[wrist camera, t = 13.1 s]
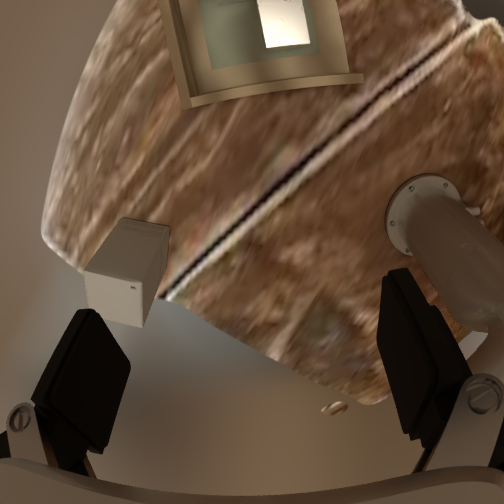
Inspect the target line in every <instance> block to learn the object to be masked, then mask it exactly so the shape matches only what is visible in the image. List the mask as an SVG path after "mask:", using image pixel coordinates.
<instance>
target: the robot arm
mask: <svg viewBox="0 0 504 504" xmlns="http://www.w3.org/2000/svg"><path fill="white" fill-rule="evenodd" d="M409 187H410V188H409ZM479 214H480V208H479V206H477V205H476V206H470V207H467V206H466V205H465V204H464V203H463V202H461V198H460V195H459V193H458V191H457V189H456V188H455V186H454V185H453V184H452V183H451V182H449V181H448V180H447V179H445V178H444V177H441V176H439V175H435V174H423V175H420V176H416V177H414V178H412V179H410V180H408V181H407V182H406V183H404V184H403V185H402V186H401V187H400V188H399V189H398V190H397V191H396V193H395V194H394V196H393V197H392V199H391V201H390V203H389V205H388V208H387V212H386V217H385V226H386V232H387V235H388V237H389V239H390V241H391V243H392V244H393V245H394V246H395V248H396V249H398V250H399V251H400V252H402V253H404V254H406V255H410V256H414V257H415V259H416V260H417V262H418V263H419V265H420V266H421V268H422V269H423V271H424V272H425V274H426V275H427V277H428V278H429V280H430V281H431V283H432V285H433V286H434V288H435V289H436V291H437V293H438V294H439V296H440V297H441V299H442V301H443V302H444V304H445V306H446V307H447V309H448V311H449V312H450V314H451V316H452V317H453V318H454V320H455V321H456V322H457V323H458V324H460V325H461V326H463V327H464V328H467V329H469V330H472V331H477V332H485V333H488V335H487V337H486V339H485V340H484V341H483V343H482V344H481V345H480V346H479V347H478V348H477V350H476V351H475V352H474V353H473V354H472V355H471V356H470V357H469V358H468V359H467V360H465V358H464V356H463V354H462V352H461V350H460V348H459V346H458V344H457V342H456V340H455V338H454V336H453V334H452V332H451V330H450V329H449V327H448V325H447V323H446V321H445V319H444V318H443V316H442V314H441V312H440V311H439V309H438V308H437V307H436V306H434V305H433V306H429V304H428V302H427V300H426V298H425V297H424V295H423V293H422V291H421V290H420V288H419V286H418V285H417V283H416V281H415V280H414V278H413V276H412V274H411V273H410V271H409V270H408V269H407V268H401V269H395V270H390V271H389V272H388V276H384V277H383V279H382V291H381V302H380V311H379V320H378V329H377V346H378V349H379V352H380V355H381V358H382V361H383V365H384V368H385V371H386V374H387V378H388V381H389V384H390V388H391V391H392V394H393V398H394V401H395V404H396V408H397V412H398V416H399V419H400V423H401V426H402V430H403V433H404V434H408V433H409V436H410V440H411V441H412V440H415V439H419V438H420V440H421V444H422V447H423V448H425V449H424V451H423V453H422V455H421V457H420V459H419V460H418V462H417V464H416V466H415V468H414V469H413V471H412V473H411V474H410V475H405V476H401V477H395V478H391V479H386V480H382V481H377V482H373V483H368V484H362V485H357V486H351V487H345V488H338V489H331V490H323V491H316V492H307V493H296V494H283V495H263V496H219V495H199V494H186V493H176V492H167V491H159V490H152V489H145V488H139V487H133V486H127V485H122V484H117V483H112V482H108V481H103V480H99V479H97V477H96V475H95V473H94V471H93V468H92V466H91V464H90V462H89V460H88V457H87V455H86V453H87V450H89V451H90V452H93V453H97V454H103V451H104V448H105V447H106V446H107V445H108V442H109V439H110V435H111V432H112V428H113V425H114V422H115V418H116V415H117V411H118V408H119V405H120V402H121V398H122V395H123V392H124V389H125V386H126V383H127V380H128V377H129V373H130V370H131V365H130V361H129V360H128V358H127V357H126V355H125V354H124V352H123V351H122V349H121V348H120V346H119V345H118V343H117V342H116V340H115V338H114V337H113V335H112V334H111V332H110V330H109V329H108V327H107V326H106V324H105V322H104V321H103V319H102V317H101V315H100V314H99V313H98V312H96V311H95V310H94V309H92V308H89V309H79V310H77V312H76V313H75V315H74V316H73V318H72V320H71V322H70V323H69V325H68V327H67V329H66V330H65V332H64V334H63V336H62V338H61V340H60V341H59V344H58V345H57V347H56V349H55V351H54V352H53V354H52V356H51V358H50V360H49V362H48V364H47V366H46V368H45V370H44V372H43V374H42V376H41V378H40V380H39V382H38V384H37V386H36V388H35V391H34V393H33V395H32V397H31V400H32V401H33V402H34V403H35V404H36V405H35V407H33V406H32V405H31V404H29V403H27V402H26V403H21V404H18V405H17V406H15V407H14V408H13V409H12V410H11V412H10V413H9V415H8V418H7V422H6V424H7V425H6V427H7V430H6V431H4V432H3V433H2V434H0V504H504V245H503V244H502V243H501V242H500V241H499V240H498V239H497V238H496V237H495V236H494V235H493V234H492V233H491V232H490V231H489V230H488V229H487V228H486V227H485V226H484V221H483V220H482V219H481V218H478V219H476V218H475V217H474V216H475V215H479Z"/></svg>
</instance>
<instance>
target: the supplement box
mask: <svg viewBox="0 0 504 504" xmlns="http://www.w3.org/2000/svg"><path fill="white" fill-rule="evenodd" d="M169 231H170V227H167V226H163V225H158V224H153V223H148V222H143V221H138V220H132V219H127V218H122V219H121V220H120V221H119V222H118V224H117V225H116V226H115V228H114V229H113V230H112V232H111V233H110V234H109V235H108V237H107V238H106V240H105V241H104V242H103V244H102V245H101V246H100V248H99V249H98V250H97V252H96V253H95V255H94V256H93V257H92V259H91V260H90V262H89V263H88V265H87V266H86V267H85V269H84V270H83V273H84V280H85V287H86V294H87V300H88V307H89V308H92V309H94V310H95V311H96V312H98V313H99V314H100V315H101V317H102V318H103V319H107V320H110V321H114V322H118V323H123V324H127V325H131V326H135V327H139V328H143V326H144V323H145V321H146V318H147V316H148V313H149V311H150V308H151V305H152V302H153V300H154V297H155V295H156V292H157V290H158V287H159V284H160V282H161V279H162V277H163V275H164V272H165V270H166V266H167V255H168V242H169Z"/></svg>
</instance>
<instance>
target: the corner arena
mask: <svg viewBox="0 0 504 504" xmlns="http://www.w3.org/2000/svg"><path fill="white" fill-rule="evenodd" d="M158 2H159V7H160V12H161V16H162V21H163V26H164V30H165V35H166V40H167V44H168V49H169V53H170V58H171V62H172V66H173V71H174V75H175V79H176V84H177V88H178V92H179V96H180V100H181V105H182V109H183V110H184V109H188V108H192V107H197V106H201V105H205V104H210V103H214V102H219V101H224V100H229V99H234V98H239V97H245V96H250V95H256V94H262V93H268V92H275V91H282V90H290V89H298V88H306V87H316V86H326V85H339V84H354V83H364V78H363V73H349V67H348V61H347V55H346V49H345V43H344V37H343V32H342V27H341V22H340V17H339V12H338V7H337V3H336V0H302V3H303V8H304V13H305V18H306V23H307V29H308V34H309V40H310V44H308V45H306V46H305V47H303V48H298V49H288V50H279V51H271V52H265V49H264V44H263V38H262V33H261V28H260V23H259V18H258V13H257V8H256V3H255V1H248V2H242V3H236V4H230V5H225V6H220V7H218V6H217V4H216V3H215V1H214V0H158Z"/></svg>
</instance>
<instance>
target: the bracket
mask: <svg viewBox="0 0 504 504" xmlns="http://www.w3.org/2000/svg"><path fill="white" fill-rule="evenodd" d="M214 1H215V3H216V4H217V6H218V7H220V6H225V5H230V4H236V3H242V2H248V1H255V3H256V8H257V13H258V18H259V23H260V28H261V33H262V38H263V44H264V49H265V52H271V51H279V50H288V49H298V48H303V47H305V46H306V45H308V44H310V40H309V34H308V29H307V23H306V18H305V13H304V8H303V3H302V0H214Z"/></svg>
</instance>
